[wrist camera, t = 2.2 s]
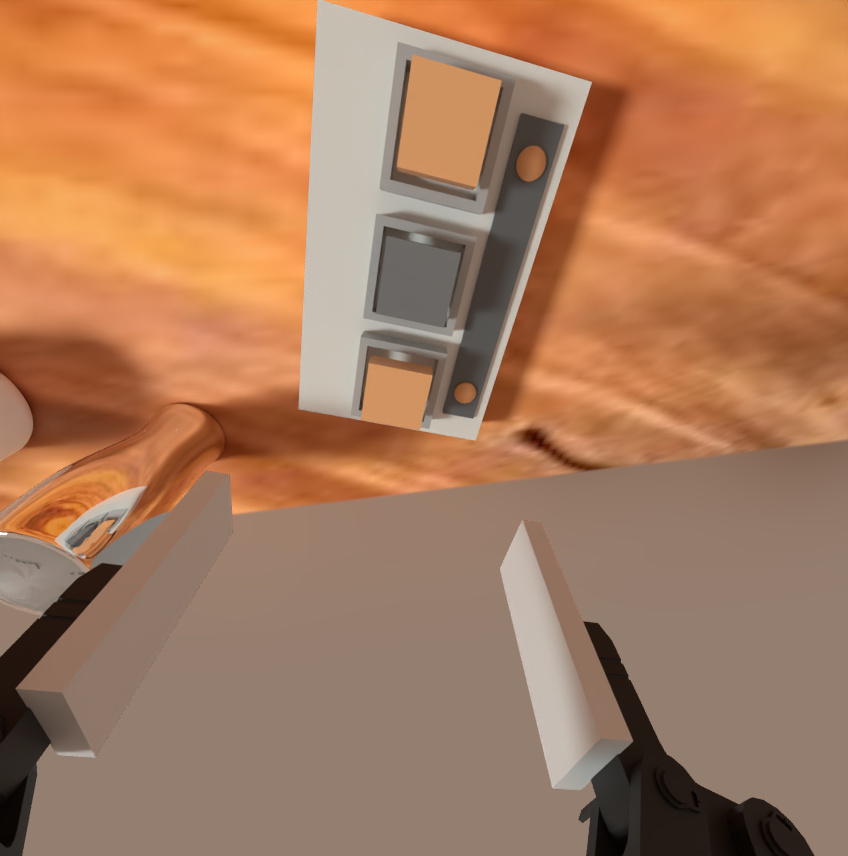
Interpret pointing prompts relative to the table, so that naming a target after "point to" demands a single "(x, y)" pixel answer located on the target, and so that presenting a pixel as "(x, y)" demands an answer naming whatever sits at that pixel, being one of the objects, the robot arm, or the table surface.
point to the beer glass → (101, 506)
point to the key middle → (417, 281)
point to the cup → (13, 419)
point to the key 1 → (396, 392)
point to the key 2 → (446, 122)
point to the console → (420, 216)
